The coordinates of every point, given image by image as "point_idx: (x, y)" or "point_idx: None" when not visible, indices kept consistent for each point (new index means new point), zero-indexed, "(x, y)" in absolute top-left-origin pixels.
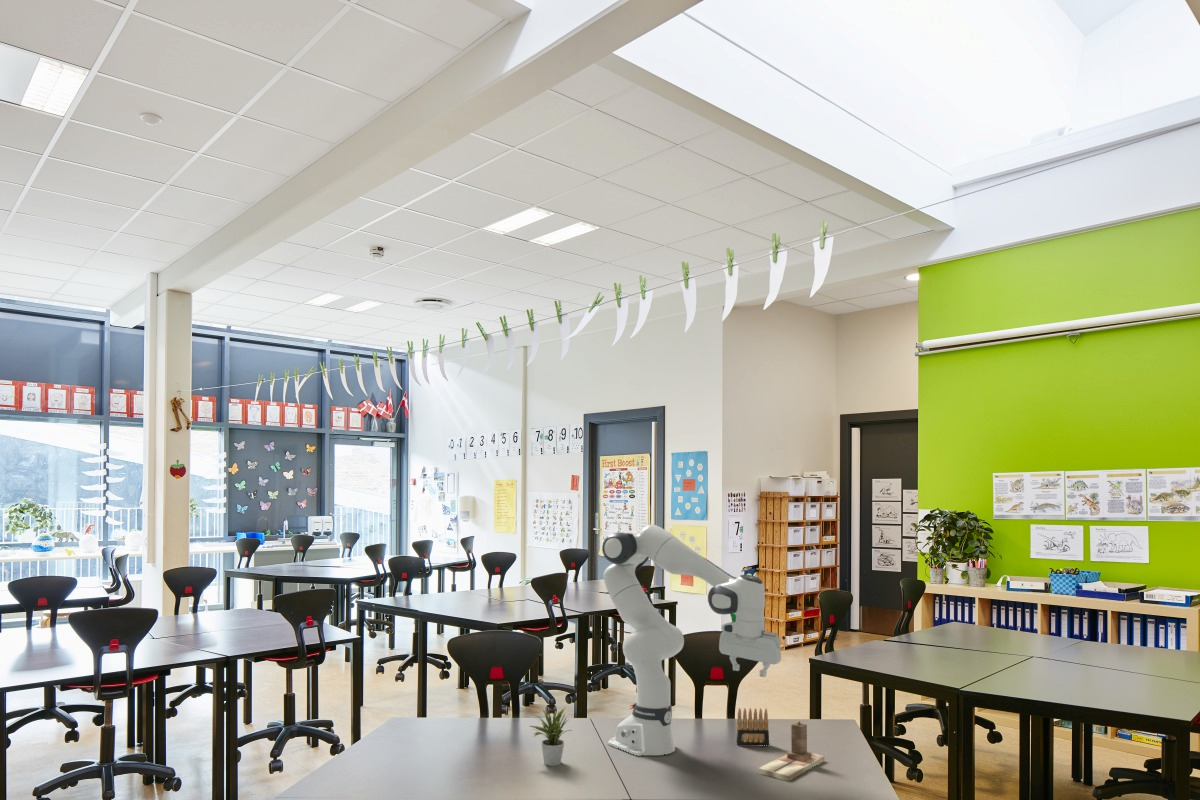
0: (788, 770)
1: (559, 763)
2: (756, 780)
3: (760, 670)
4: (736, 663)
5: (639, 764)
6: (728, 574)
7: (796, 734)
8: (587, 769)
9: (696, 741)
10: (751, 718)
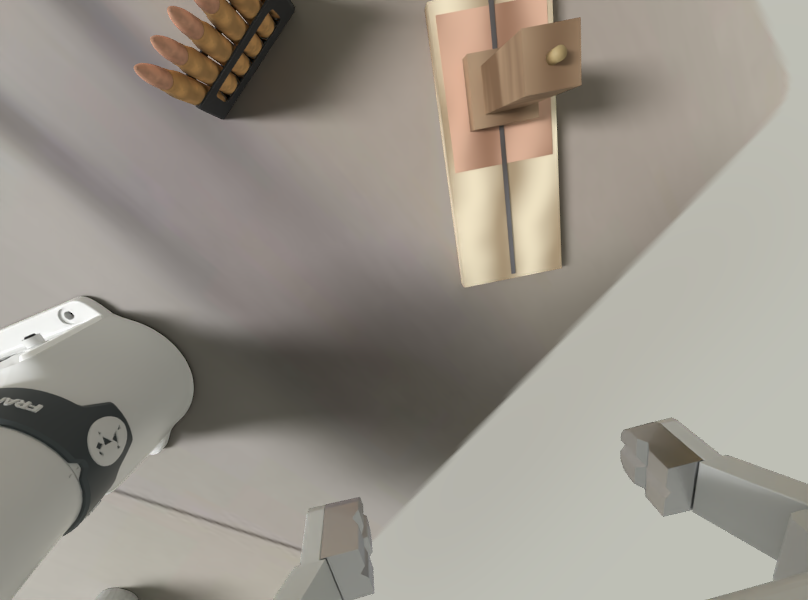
0: (537, 229)
1: (134, 597)
2: (490, 326)
3: (667, 505)
4: (325, 579)
5: (224, 473)
6: None
7: (535, 98)
8: (195, 567)
9: (107, 211)
10: (207, 32)
